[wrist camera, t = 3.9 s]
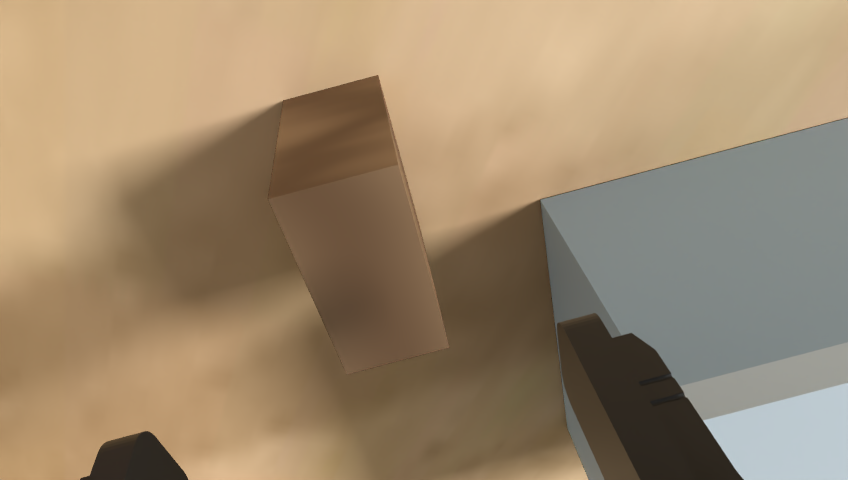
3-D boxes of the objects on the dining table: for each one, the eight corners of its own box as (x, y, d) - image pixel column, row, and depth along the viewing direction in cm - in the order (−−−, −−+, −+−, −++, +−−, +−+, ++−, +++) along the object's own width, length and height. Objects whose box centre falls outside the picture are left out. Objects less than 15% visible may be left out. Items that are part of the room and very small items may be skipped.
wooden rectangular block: (377, 74, 18) (398, 164, 13) (420, 230, 21) (449, 347, 16) (283, 99, 18) (267, 199, 13) (341, 251, 21) (346, 374, 16)
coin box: (969, 85, 21) (1382, 243, 13) (875, 347, 29) (1090, 545, 21) (540, 199, 21) (676, 427, 13) (567, 428, 29) (661, 655, 21)
